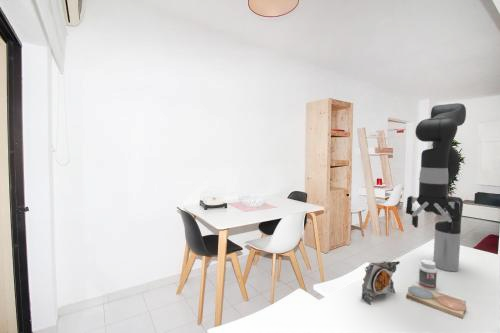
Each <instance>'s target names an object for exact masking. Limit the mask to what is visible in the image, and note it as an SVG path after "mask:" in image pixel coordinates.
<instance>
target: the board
mask: <svg viewBox="0 0 500 333" xmlns="http://www.w3.org/2000/svg"><path fill="white" fill-rule="evenodd" d="M411 286H417V287H422V286H420V285H416V284H414V283H412V285H411ZM422 288H424V287H422ZM424 289H426V288H424ZM427 290H429V291H430V292H432V293H433V295H434V298H433V299H421V298H418V297H415V296H413V295H412V294H410V293H409V292H408V291H407V293H406V296H405V298H406V299H408V300H411V301H414V302H416V303H419V304H422V305H425V306H427V307H431V308H433V309H436V310H439V311H441V312H444V313H447V314H450V315H452V316H454V317H458V318H461V319H464V315H465V310H464V311H456V310H452V309H449V308H447V307H444V306H443V305H441V304H440V303H439V302H438V301H437V297H439V296H448V297H452V298H455V299H457V300H459V301H461V302H463V303H464V304H465V305H466V302H467V301H466V300H462V299H459V298H456V297H453V296H449V295H447V294H444V293H441V292H438V291H435V290H433V289H427ZM466 306H467V305H466Z"/></svg>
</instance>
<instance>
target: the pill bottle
mask: <svg viewBox="0 0 500 333" xmlns="http://www.w3.org/2000/svg"><path fill="white" fill-rule="evenodd" d="M435 265H436V264H435V262H433V260H431V259H422V260H421V261H420V266H419V268H418V284H419V285H418V286H420V287H423V288H426V289H429V290H435V289H436V287H437V278H438V277H437V274H438V271H437V269H436V266H435Z"/></svg>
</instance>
